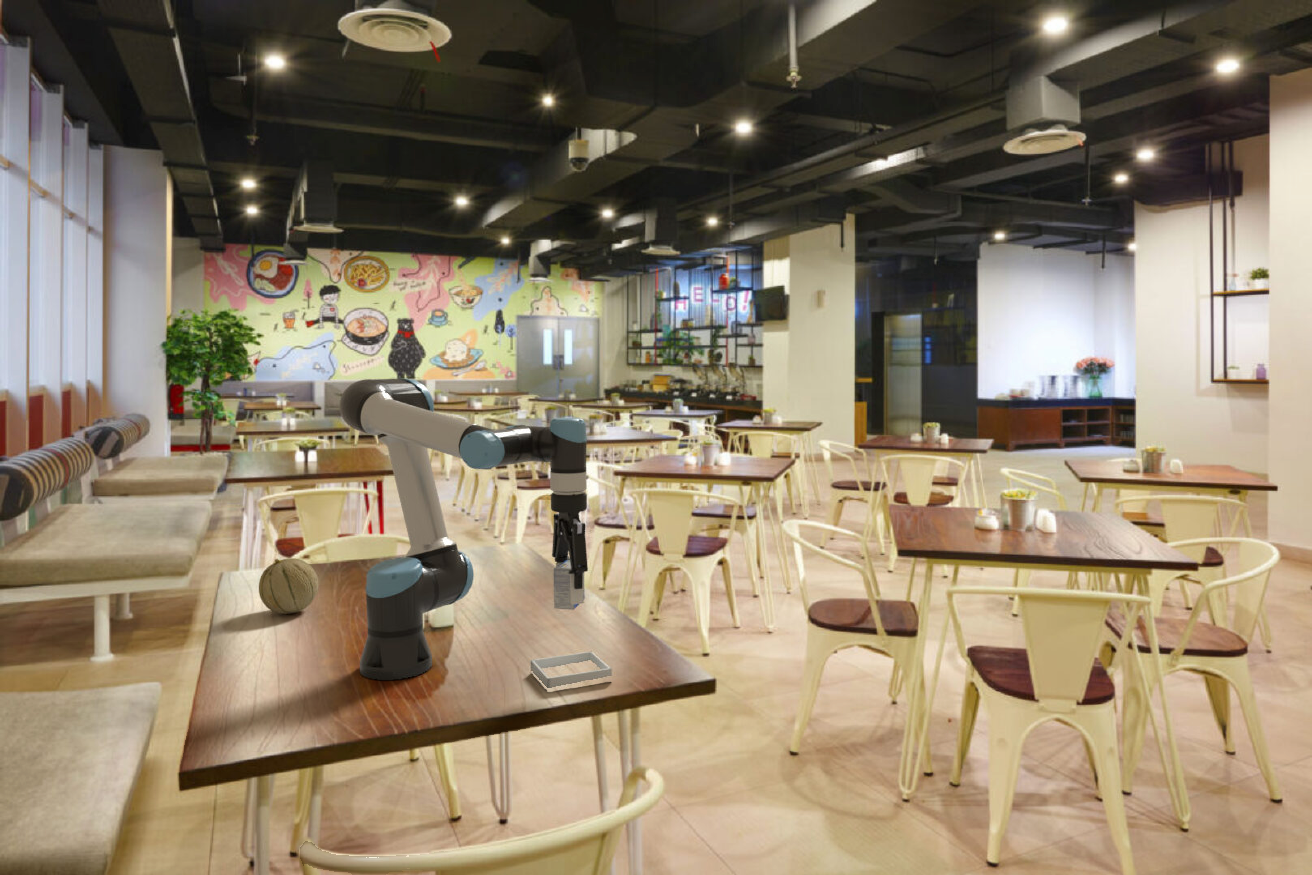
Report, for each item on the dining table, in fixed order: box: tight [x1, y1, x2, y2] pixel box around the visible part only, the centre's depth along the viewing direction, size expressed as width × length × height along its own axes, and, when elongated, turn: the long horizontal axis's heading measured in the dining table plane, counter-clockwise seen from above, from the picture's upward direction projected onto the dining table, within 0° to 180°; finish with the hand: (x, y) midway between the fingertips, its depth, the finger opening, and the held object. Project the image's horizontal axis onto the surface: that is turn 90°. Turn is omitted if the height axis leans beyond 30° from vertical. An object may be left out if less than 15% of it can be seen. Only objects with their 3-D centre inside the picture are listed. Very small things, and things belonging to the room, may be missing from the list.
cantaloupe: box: [258, 557, 319, 615], centre depth 229 cm, size 15×15×15 cm
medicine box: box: [552, 560, 586, 610], centre depth 180 cm, size 8×4×9 cm, turn 168°
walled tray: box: [530, 650, 613, 688], centre depth 182 cm, size 14×12×3 cm
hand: (569, 597), depth 181 cm, fingers closed on medicine box, 9 cm apart
